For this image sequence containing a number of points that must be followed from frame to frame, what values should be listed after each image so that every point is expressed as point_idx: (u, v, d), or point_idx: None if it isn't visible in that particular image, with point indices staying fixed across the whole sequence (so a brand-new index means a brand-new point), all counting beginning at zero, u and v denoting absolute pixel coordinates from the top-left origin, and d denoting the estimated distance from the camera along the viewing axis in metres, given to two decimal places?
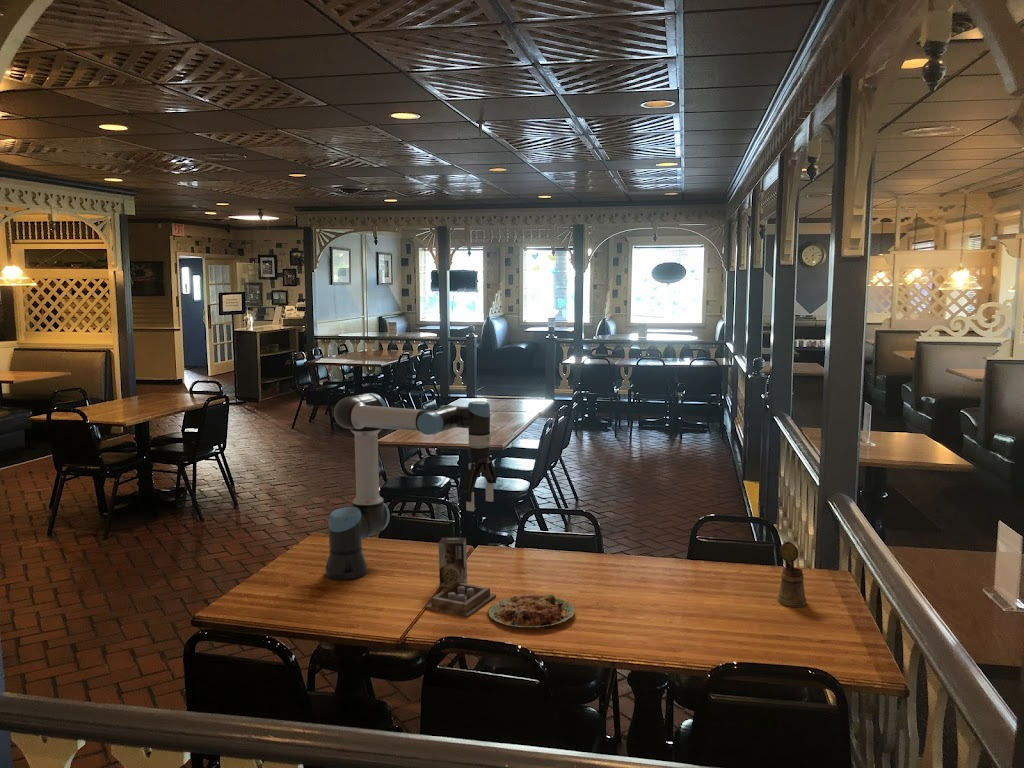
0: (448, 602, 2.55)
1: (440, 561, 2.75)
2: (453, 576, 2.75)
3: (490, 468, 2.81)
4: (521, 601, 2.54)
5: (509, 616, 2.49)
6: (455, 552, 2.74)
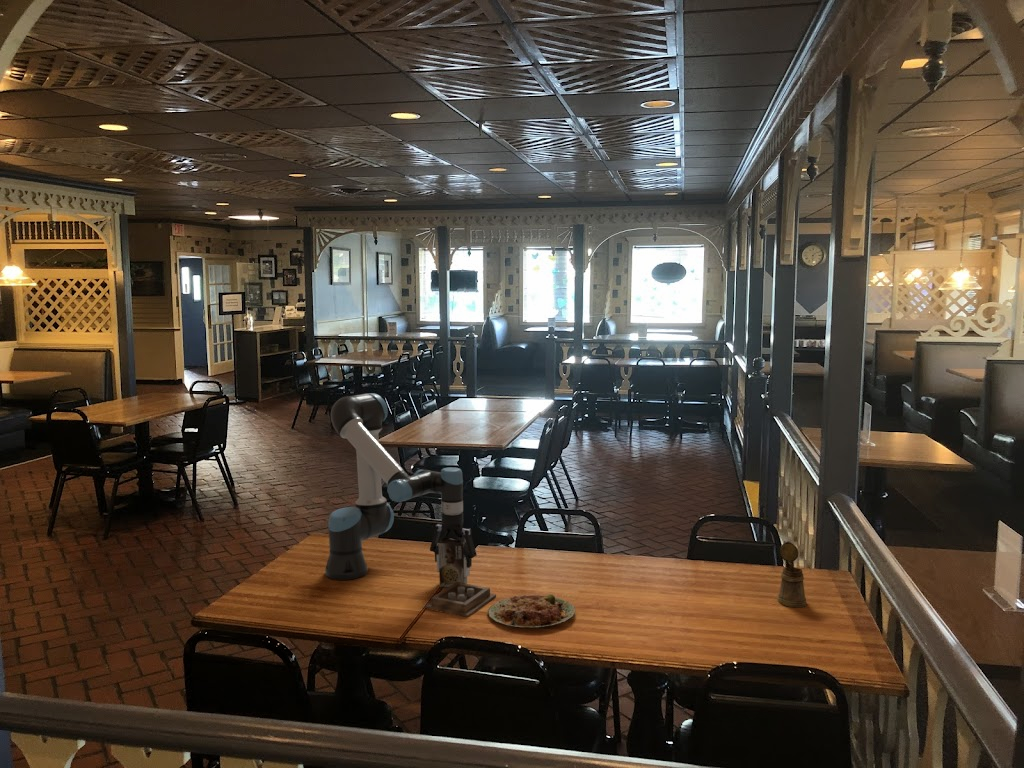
0: (448, 602, 2.55)
1: (440, 561, 2.75)
2: (453, 576, 2.75)
3: None
4: (521, 601, 2.54)
5: (509, 616, 2.49)
6: (455, 552, 2.74)
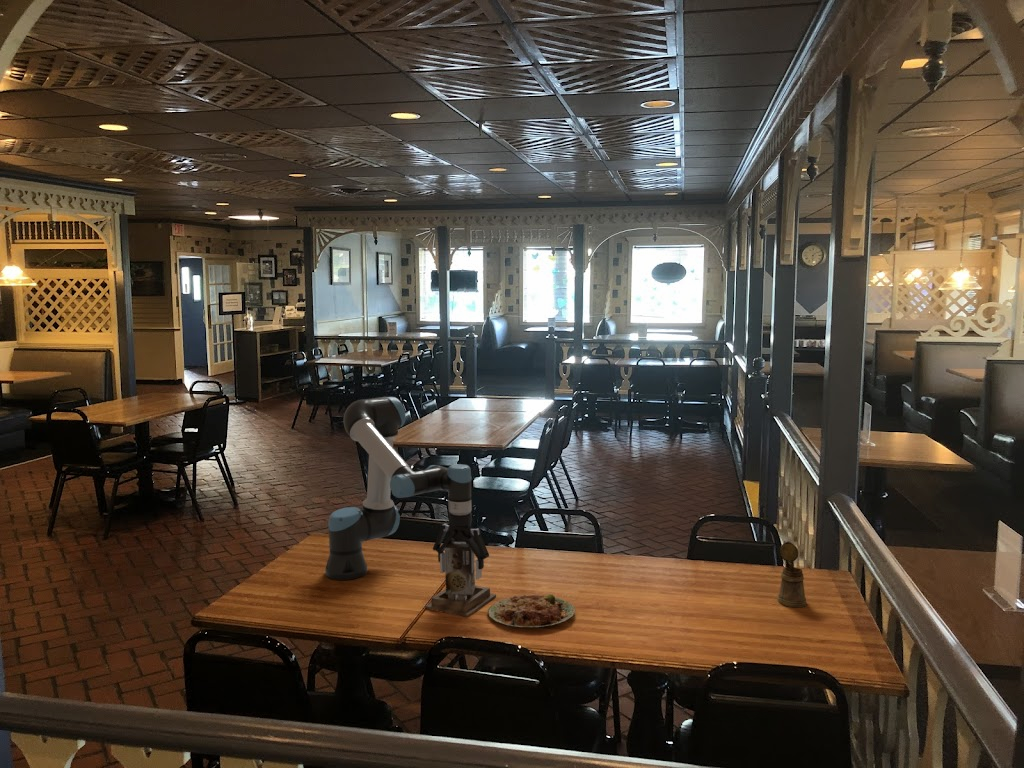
0: (448, 602, 2.55)
1: (446, 567, 2.58)
2: (460, 583, 2.58)
3: None
4: (521, 601, 2.54)
5: (509, 616, 2.49)
6: (462, 557, 2.57)
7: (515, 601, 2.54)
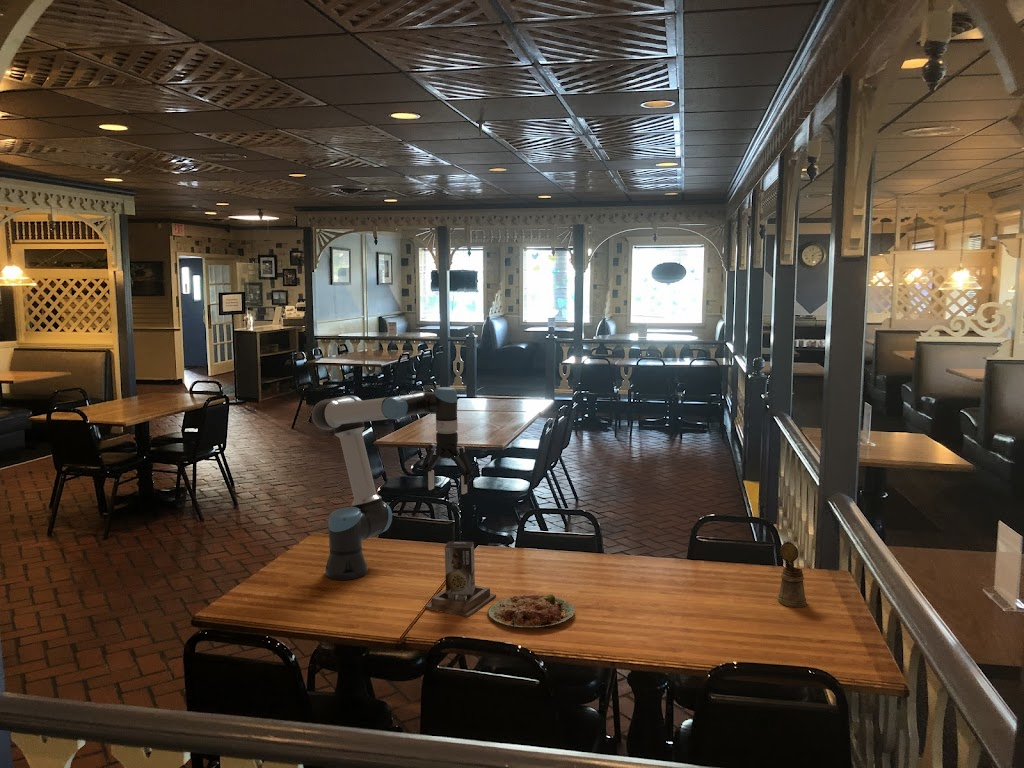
0: (448, 602, 2.55)
1: (446, 567, 2.58)
2: (460, 583, 2.58)
3: None
4: (521, 601, 2.54)
5: (509, 616, 2.49)
6: (462, 557, 2.57)
7: (515, 601, 2.54)
